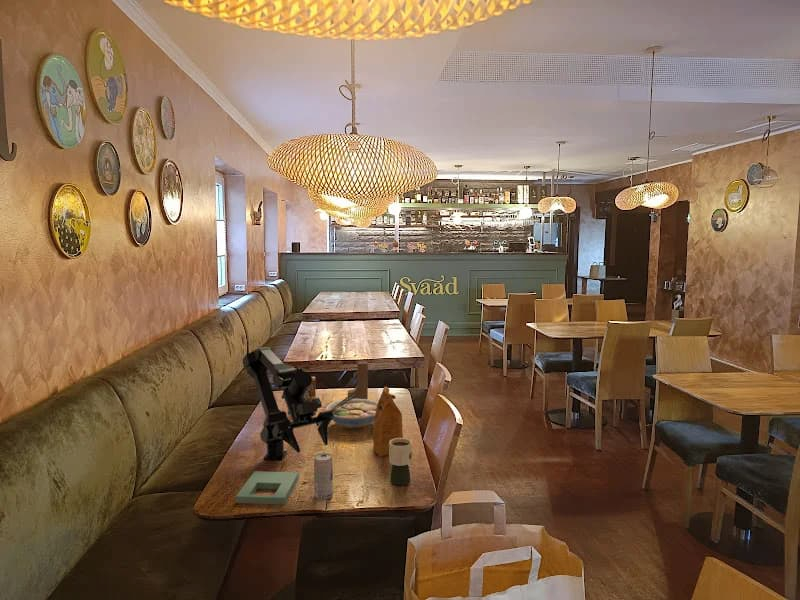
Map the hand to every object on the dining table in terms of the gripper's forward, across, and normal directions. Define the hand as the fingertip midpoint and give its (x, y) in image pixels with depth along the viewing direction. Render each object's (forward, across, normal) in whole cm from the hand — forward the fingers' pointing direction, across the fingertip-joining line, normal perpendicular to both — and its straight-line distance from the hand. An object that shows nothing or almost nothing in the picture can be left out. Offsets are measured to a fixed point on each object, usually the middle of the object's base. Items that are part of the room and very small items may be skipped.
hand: (313, 448), depth 162 cm
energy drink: (+13, 0, +4) cm, 14 cm away
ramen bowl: (-17, +37, +35) cm, 54 cm away
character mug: (+18, +23, 0) cm, 29 cm away
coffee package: (+2, +34, +16) cm, 38 cm away
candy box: (-35, +28, +52) cm, 69 cm away
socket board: (+4, -12, +13) cm, 18 cm away
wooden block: (-35, +54, +52) cm, 83 cm away
